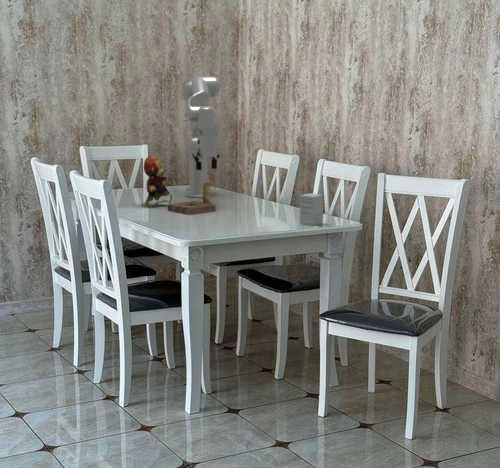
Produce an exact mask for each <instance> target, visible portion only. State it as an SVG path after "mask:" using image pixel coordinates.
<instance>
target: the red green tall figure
mask: <svg viewBox="0 0 500 468" xmlns="http://www.w3.org/2000/svg"><path fill="white" fill-rule="evenodd" d="M143 171H144V173H145V175H146V176H148V177H149V178H148V179H147V181H146V191H147V198H146V201H145V202H144V205H143V207H144V208H145V207H147V208H150V207H151V208H153V207H155V206H156V205H158V204H160V203H167V202H168V204H171V202H172V194H171V193H170V191H169V190H168V188H167V186H166V185H164V184H163V182H164V181H165V182H166V180H167V178H168V177H167V176H164V173H165V170H164V168H162V163H161V161H160V160H159V159H158V158H157V157H155V156H151V155H149V156H148V157H146V158H145V159H144V162H143ZM168 196H170V198H169V199H170V200H161V201H159V199H160V198H161V197H168ZM154 200H155V201H156V202H155V203H154V204H153V205H152V206H151V205H150V202H152V201H154Z"/></svg>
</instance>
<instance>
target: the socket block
mask: <svg viewBox="0 0 500 468" xmlns="http://www.w3.org/2000/svg"><path fill="white" fill-rule="evenodd" d="M216 207H217V206H216V204H213V203H210V204H208V203H203V201H202V202H201V201H195V200H193V201H192V200H191V201H185V202H175V203H170V204H169V203H168V204H167V212H172V211H173V213H178V214H183V215H189V216H190V215H196V214H205V213H210V212H216V211H217V209H216Z"/></svg>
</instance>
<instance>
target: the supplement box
mask: <svg viewBox="0 0 500 468" xmlns="http://www.w3.org/2000/svg"><path fill="white" fill-rule="evenodd" d="M299 196H300V197H299V224H300V225H305V226H311V225H313V226H318V225H321V224H323V222H324V221H323V220H324V218H323V217H324V213H323V212H324V195H323V194H318V193H311V192H309V193H304V194H301V195H300V194H299Z"/></svg>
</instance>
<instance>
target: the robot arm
mask: <svg viewBox="0 0 500 468" xmlns="http://www.w3.org/2000/svg"><path fill="white" fill-rule="evenodd" d="M220 90H221V81H220V79H219V78H218V77H217V76H212V75H211V76H210V75H209V76H207V75H205V76H204V75H203V76H202V75H201V76H195V77H194V78H193V79H192V80H189V81H187V82H185V83H184V84H183V94H184V98H185V101H186V104H185V112H186V118H187V120H188V121H189V122H188V123H189V130H190V132H191V133H192V134H194V136H190V137H189V138H188V139H187V142H186V143H187V152H188V153H187V154H188V162H189V163H188V166H189V167H188V173H189V174H188V176H189V182H188V183H189V187H187V188H185V190H186V192H187V193H186V197H188V198H203V185H202V184H203V183H204V182H206V181H207V179H208V161H207V159H206V158H211V169H214V170H217V169H218V161H219V158H220V155H221V152H222V151H221V148H222V142H221V122H220V119H219V117H218V115H217V109H216V108H215V107H214V106H212V105H211V106H209V105H207V104H208V103H209V102H210V100H211V98H216V97H217V96H218V95H219V93H220ZM205 105H206V106H205ZM195 134H197V135H196V136H195ZM201 185H202V187H201ZM200 187H201V188H200Z"/></svg>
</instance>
